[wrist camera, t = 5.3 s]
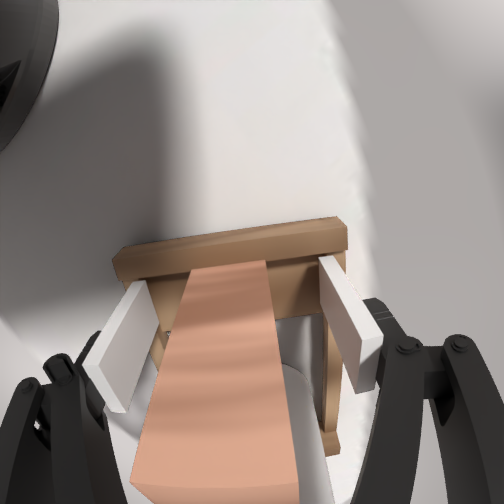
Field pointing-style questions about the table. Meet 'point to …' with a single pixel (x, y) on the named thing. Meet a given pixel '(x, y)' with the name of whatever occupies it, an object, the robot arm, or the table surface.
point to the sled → (230, 360)
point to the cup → (306, 440)
